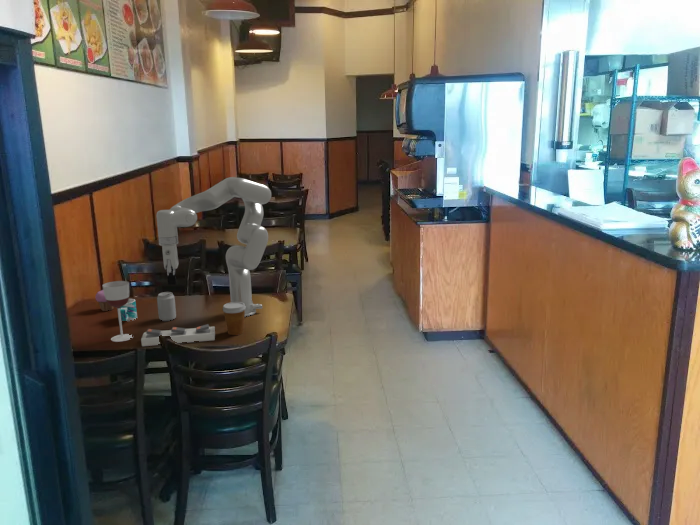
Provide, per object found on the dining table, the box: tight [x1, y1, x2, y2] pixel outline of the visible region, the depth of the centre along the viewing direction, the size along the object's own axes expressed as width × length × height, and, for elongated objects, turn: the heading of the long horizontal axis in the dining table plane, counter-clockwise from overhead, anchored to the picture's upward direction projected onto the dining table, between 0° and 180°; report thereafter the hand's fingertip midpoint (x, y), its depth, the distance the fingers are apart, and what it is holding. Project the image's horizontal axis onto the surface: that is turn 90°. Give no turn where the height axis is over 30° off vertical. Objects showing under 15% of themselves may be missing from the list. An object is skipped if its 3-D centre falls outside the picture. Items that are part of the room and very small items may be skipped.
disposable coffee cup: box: [222, 301, 246, 336], centre depth 238 cm, size 10×10×12 cm
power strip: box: [140, 326, 216, 347], centre depth 232 cm, size 28×8×3 cm, turn 101°
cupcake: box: [95, 289, 114, 312], centre depth 271 cm, size 9×9×10 cm
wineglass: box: [102, 280, 134, 343], centre depth 233 cm, size 9×10×23 cm
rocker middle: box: [171, 326, 186, 333], centre depth 230 cm, size 5×3×1 cm, turn 101°
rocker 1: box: [146, 328, 162, 335], centre depth 229 cm, size 5×3×1 cm, turn 101°
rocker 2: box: [195, 323, 210, 332], centre depth 232 cm, size 5×3×1 cm, turn 101°
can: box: [156, 291, 177, 322], centre depth 256 cm, size 8×8×12 cm
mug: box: [116, 298, 138, 322], centre depth 256 cm, size 8×12×8 cm
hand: (172, 284), depth 236 cm, fingers closed
